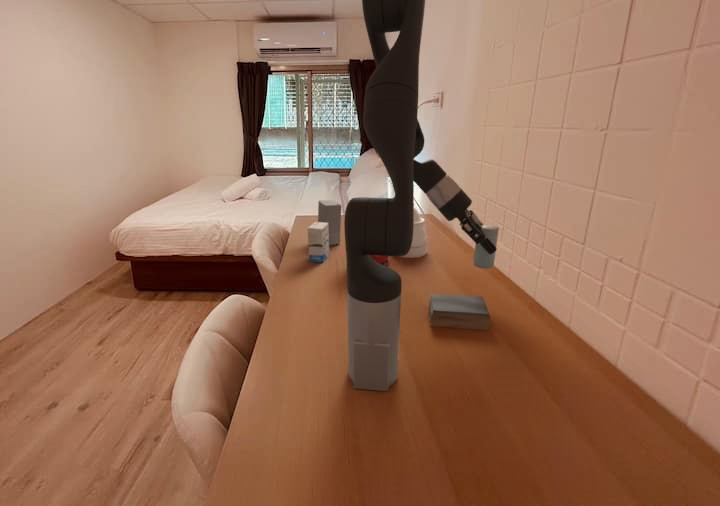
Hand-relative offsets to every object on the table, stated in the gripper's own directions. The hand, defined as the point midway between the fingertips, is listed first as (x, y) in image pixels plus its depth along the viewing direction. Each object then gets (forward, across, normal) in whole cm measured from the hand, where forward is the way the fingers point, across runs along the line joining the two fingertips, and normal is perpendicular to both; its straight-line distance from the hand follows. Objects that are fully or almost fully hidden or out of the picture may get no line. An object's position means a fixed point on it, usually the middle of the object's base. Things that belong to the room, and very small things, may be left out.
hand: (493, 248), depth 92 cm
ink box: (-28, +16, +48) cm, 58 cm away
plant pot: (-15, +13, +35) cm, 40 cm away
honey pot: (-9, +32, +29) cm, 44 cm away
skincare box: (-30, +33, +50) cm, 67 cm away
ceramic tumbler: (+2, 0, +5) cm, 5 cm away
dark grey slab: (+6, -12, +15) cm, 20 cm away
